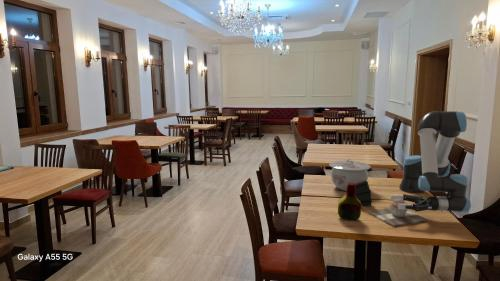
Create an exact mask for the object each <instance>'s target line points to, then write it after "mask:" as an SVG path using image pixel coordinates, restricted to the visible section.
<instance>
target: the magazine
mask: <svg viewBox="0 0 500 281" xmlns="http://www.w3.org/2000/svg"><path fill="white" fill-rule="evenodd" d="M355 195H356V198H357V199H358V200H359V201H360V203H361V206H364V207H372V202H373V198H372V190H371V189H370V185H369V181H368V180H367V181H366V180H365V181H362V182H359V183H356V184H355Z"/></svg>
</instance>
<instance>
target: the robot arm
mask: <svg viewBox="0 0 500 281" xmlns="http://www.w3.org/2000/svg"><path fill="white" fill-rule="evenodd" d="M465 113H466V112H463V111H458V110H457V111H456V110H455V111H453V110H452V111H450V110H444V111H442V110H441V111H437V110H433V111H430V112H427V113H426V114H425V115H423V117H422V118H421V119H420V121H419V123H418V125H417V134H418V136H419V141H420V142H419V143H420V155H416V154H415V155H409V156H406V157H404V160H403V171H402V172H403V174H402V179H401V182H400V184H399V190H401V191H403V192H407V193H412V195H411V194H406V193H403V194H402V195H399V194H398V195H397V194H391V195H390V201H394V200H396V199H398V198H399V197H400V198H401V199H402V200H403V201H405V202H406V201H407V202H410V203H406V204H398V209H408V211H411V210H412V211H414V212H422V211H424V212H425V211H431V212H432V211H433V212H436V211H439V212H441V213H442V212H456V213H457V212H458V213H463V212H464V213H465V212H466V213H467V212H469V211H470V210H471V206H472V204H471V203H472V202H471V200H470V198H469V197H467V196H466V194H467V187H468V177H467V176H466V175H463V174H460V173H459V174H458V173H454V174H453V173H452V174H450V176H449V173H450V170H451V162H450V160H449V155H450V153H451V149H452V146H453V145H454V142H455V139H456V138H457V137H459V136H460V134H461V133H465V132H466V131H467V127H468V125H467V124H468V123H467V115H466V114H465ZM437 133H438V137H437V139H436V134H437ZM447 176H449V177H447ZM426 191H427V192H438V193H439V192H441V193H448V196H443V195H441V196H440V195H439V196H438V195H437V196H436V195H435V196H433V195H428V196H427V198H424V197H423V196H418V195H413V193H414V194H419V193H420V194H421V193H424V192H426Z"/></svg>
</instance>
